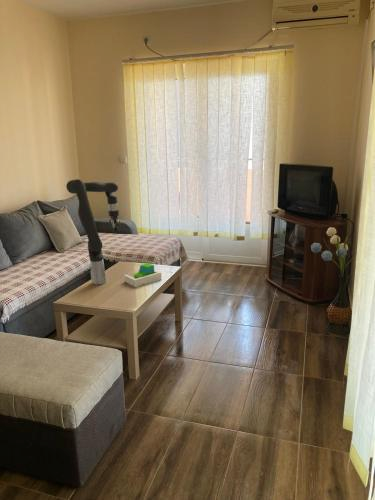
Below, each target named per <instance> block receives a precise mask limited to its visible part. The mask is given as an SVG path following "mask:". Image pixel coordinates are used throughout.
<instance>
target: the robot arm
mask: <svg viewBox="0 0 375 500" xmlns="http://www.w3.org/2000/svg"><path fill="white" fill-rule="evenodd" d="M65 185H66V190H67V192H68V193H70V194H72V195H73V194H74V195H75V194H76V196H77V200H78V209H77V215H78V218H79V220H80V224H81V226H82V228H83V229H84V232H85V233H86V236H87V237H86V238H87V240H88V241H87V251H88V256H89V262H90V279H91V280H90V281H91V284H93V285H94V286H98V285H103V284H105V283H106V282H107V279H106V271H105V263H104V256H103V255H104V254H103V252H102V249H103V242H102V240H101V238H100V235H99V232H98V230H97V224H96V221H95V218H94V217H95V216H94V214H93V211H92V208H91V205H90V201H89V197H88V194H87V193H89V192H92V193H105V197H106V199H107V213H108V216H109V217H110V218H109V220H108V221H109V223H110V225H111V227H112V229H113V233H115V234H116V233H118V227H119V226H120V222H121V221H120V220H119V219H118V218H119V216H120V212H119V210H120V209H119V204H118V197H117V196H116V194H114V193H117V192H118V189H119V186H118V184H117V183H116V182H104V181H102V182H101V181H91V182H84V181H83V180H82V179H79V178H78V179H77V178H76V179H71V180H68V182H67V183H66V184H65Z"/></svg>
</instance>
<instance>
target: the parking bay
mask: <svg viewBox="0 0 375 500" xmlns="http://www.w3.org/2000/svg"><path fill="white" fill-rule="evenodd" d="M123 278H124V282H125V283H127V284H128V285H130V286H133V287H135V288H137V287H141V286H144V285H147V284H150V283H153V282H157V281H159V280H162V272H160V271H158V270H156V269H154V274H151V275H147V276H144V277H140V278H137V279H135V278H134V276H130V275H128V274H124V275H123ZM143 284H144V285H143ZM140 285H141V286H140Z"/></svg>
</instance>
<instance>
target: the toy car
mask: <svg viewBox="0 0 375 500" xmlns="http://www.w3.org/2000/svg"><path fill="white" fill-rule="evenodd" d="M139 265H140V264H139ZM154 270H155V265H154V264H151V263H148V262H146V263H143V264H141V265H140V266H139V270H138V271H137V272H136V273H134V274H133V278H135V279H137V278H140V277H144V276H147V275H151V274H154Z"/></svg>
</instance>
